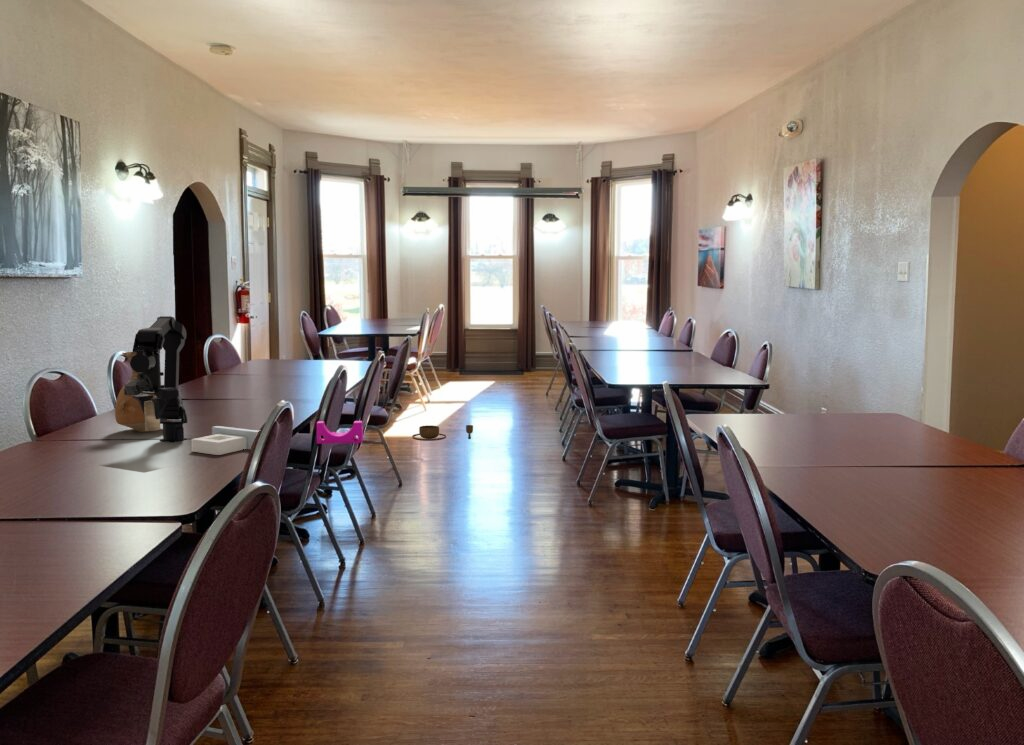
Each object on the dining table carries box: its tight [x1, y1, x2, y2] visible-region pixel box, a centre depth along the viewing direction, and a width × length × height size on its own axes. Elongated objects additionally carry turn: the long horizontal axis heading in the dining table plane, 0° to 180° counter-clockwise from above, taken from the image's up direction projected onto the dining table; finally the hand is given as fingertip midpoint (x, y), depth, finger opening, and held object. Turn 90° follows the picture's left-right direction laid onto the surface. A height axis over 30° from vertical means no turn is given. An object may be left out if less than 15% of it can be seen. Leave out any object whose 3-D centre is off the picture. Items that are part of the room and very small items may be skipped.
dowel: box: [144, 401, 161, 432], centre depth 275 cm, size 4×4×9 cm
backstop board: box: [211, 425, 260, 450], centre depth 289 cm, size 20×2×6 cm, turn 62°
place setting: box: [411, 424, 474, 442], centre depth 303 cm, size 18×20×6 cm
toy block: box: [316, 420, 364, 445], centre depth 298 cm, size 15×6×8 cm, turn 95°
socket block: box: [190, 434, 248, 456], centre depth 282 cm, size 12×12×4 cm
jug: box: [114, 351, 156, 433], centre depth 312 cm, size 20×19×30 cm
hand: (152, 418), depth 275 cm, fingers closed on dowel, 4 cm apart
